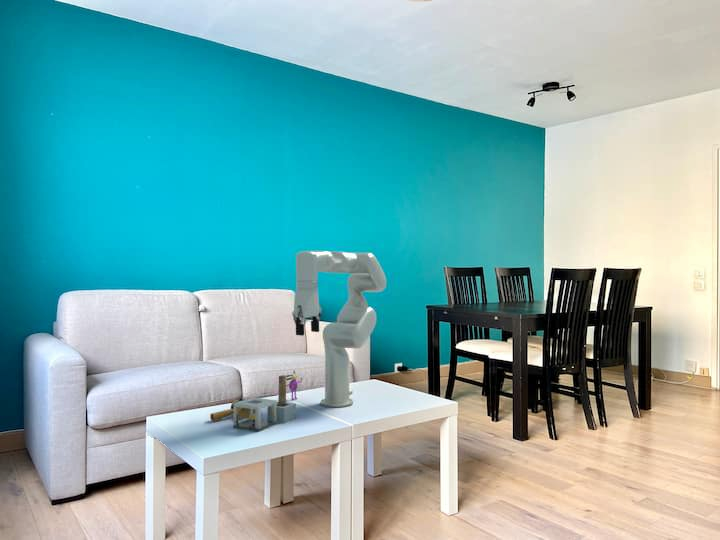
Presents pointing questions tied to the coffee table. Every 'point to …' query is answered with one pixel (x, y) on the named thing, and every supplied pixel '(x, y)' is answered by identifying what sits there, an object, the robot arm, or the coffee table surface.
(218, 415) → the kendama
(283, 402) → the stylus
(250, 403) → the guard frame
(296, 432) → the coffee table surface
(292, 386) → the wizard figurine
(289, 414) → the stylus holder
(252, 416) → the button
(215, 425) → the coffee table surface
